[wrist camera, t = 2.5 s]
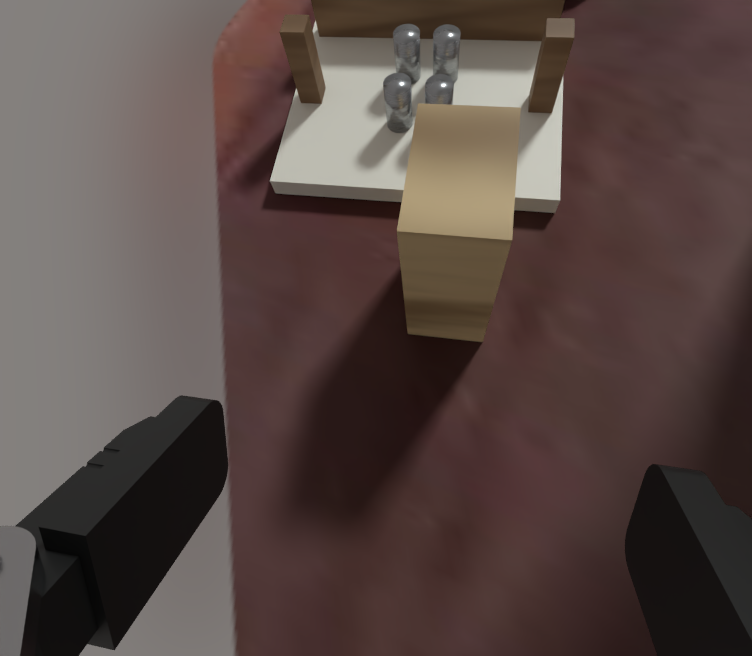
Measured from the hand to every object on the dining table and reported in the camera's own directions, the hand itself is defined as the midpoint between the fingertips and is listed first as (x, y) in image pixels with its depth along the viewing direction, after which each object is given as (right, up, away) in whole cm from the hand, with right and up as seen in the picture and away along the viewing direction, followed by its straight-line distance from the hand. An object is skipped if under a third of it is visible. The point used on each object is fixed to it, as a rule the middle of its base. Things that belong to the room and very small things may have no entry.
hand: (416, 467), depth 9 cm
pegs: (+2, +17, +22) cm, 28 cm away
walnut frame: (+3, +20, +23) cm, 31 cm away
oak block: (+3, +5, +18) cm, 19 cm away
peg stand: (+2, +17, +23) cm, 29 cm away
